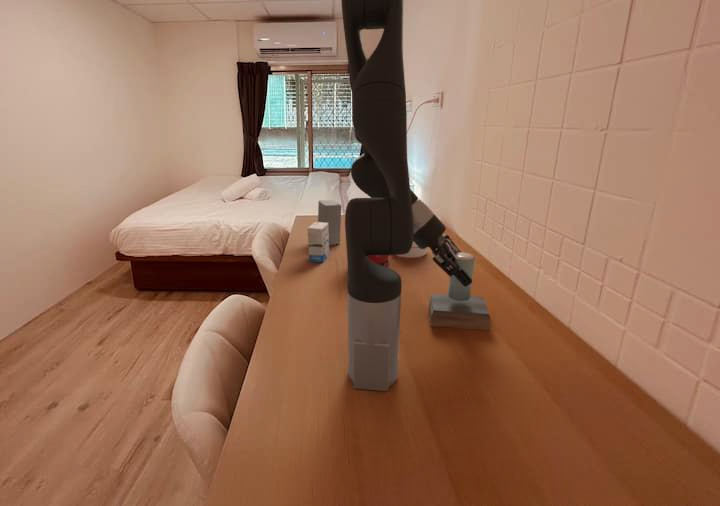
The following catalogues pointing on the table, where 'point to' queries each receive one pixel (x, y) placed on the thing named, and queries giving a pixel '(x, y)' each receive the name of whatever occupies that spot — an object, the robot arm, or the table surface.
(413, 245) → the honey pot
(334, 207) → the skincare box
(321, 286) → the table surface
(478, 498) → the table surface
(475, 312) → the dark grey slab
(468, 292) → the ceramic tumbler
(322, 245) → the ink box
